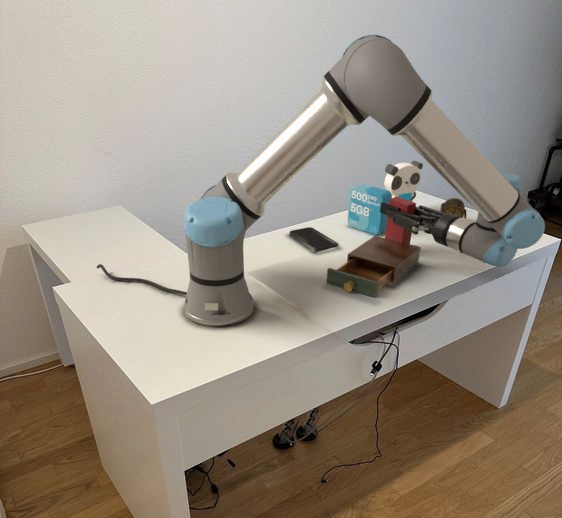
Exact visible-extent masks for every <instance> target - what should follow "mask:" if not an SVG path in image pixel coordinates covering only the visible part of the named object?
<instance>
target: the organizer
mask: <svg viewBox="0 0 562 518" xmlns="http://www.w3.org/2000/svg"><path fill="white" fill-rule="evenodd" d="M421 249H422V248H421V246H418V245H415V244H411V243H410V244H407V243H403V242H399V241H395V240H390V239H386V238H385V237H382V236H378V235H374V236H372V237H371V238H370V239H368V240H367V241H364V242H363V243H362V244H361V245H359V246H358V247H356V248H355V249H353V250H352V251H350V252H349V253H347V259H346V263H347V262H348V261H350V260H351V259H352V258H357V259H361V260H365V261H368V262H372V263H376V264H379V265H383V266H387V267H390V268H394V270H393V277H392V281H391V283H396V282H397V280H398V279H400V278H401V277H402V276H403V275H404V274H406V273H407V272H408V271H409V270H410V269H412V268H413V267H414V266H416V265H417V264H418V263H419V260H420V254H421Z"/></svg>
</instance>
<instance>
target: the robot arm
mask: <svg viewBox="0 0 562 518" xmlns="http://www.w3.org/2000/svg"><path fill="white" fill-rule="evenodd" d="M369 117H370V118H372V119H373V120H374V121H376V122H377V123H378V124H380V125H381V126H382V128H384V129H385V130H386V131H387V132H388V133H389V134H390V135H391V136H392V137H394V136H395V137H396V136H401V137H402V138H403V139H404V140H405V141H406V142H407V143H408V144H409V145H410V146H411V147H412V148H413V149H414V150H415V151H416V152H417V153H418V154H419V155H420V156H421V157H422V158H423V159H424V160H425V161H426V162H427V163H428V164H429V166H431V167H432V168H433V169H434V170H435V171H436V172H437V173H438V174H439V175H440V176H441V177H442V178H443V179H444V180H445V182H447V183H448V184H449V185H450V186H451V187H452V188H453V189H454V190H455V191H456V192H457V193H458V194H459V195H460V196H461V197H462V198H463V199H464V200H465V201H466V202H467V203H468V204H469V205H470V207H472V208H473V209H474V210H475V211H476V212H477V218H476V221H474V220H471V219H468V218H467V217H466V218H464V217H463V218H461V217H459V216H457V215H454V214H451V213H443V212H440V210H437V209H435V208H431V207H428V206H425V205H422V204H421V205H418V206H416V208H415V215H414V214H410V213H407V212H403V211H400V207H398V208H397V207H395V206H392V205H389V204H387V203H384V202H381V207H380V213H382V214H385V215H387V216H390V217H392V218H393V219H392V223H394V224H396V225H399V226H401V227H403V228H405V229H407V230H409V231H411V232H412V235H416V236H417V235H418V234H419V232H423V233H425V234H427V235H431V236H432V238H433V241H434V242H436V243H437V244H439V245H442V246H444V247H447V248H450V249H452V250H454V251H457V252H458V253H459V254H464V255H466V256H469V257H471V258H473V259H475V260H478V261H480V262H482V263H483V264H487V265H490V266H491V267H492V266H493V267H496V268H503V267H505V266H507V265H508V264H510V263H511V262H512V261H513V259H514V258H515V256H516V254H517V253H518V250H523V249H528V248H530V247H533V246H534V245H535V244H537V243H538V242H539V241H540V240H541V238H542V237H543V235H544V232H545V229H546V224H545V220H544V218H543V217H542V216H541V214H540V213H539V211H538V210H537V209H535V208H533V206H532V205H531V204H530V203H529V202H528V201H527V200H526V199H525V198H524V197H523V196H522V195H521V193H522V189H523V188H522V187H523V179H522V177H521V176H519V175H517V174H513V173H507V172H500V171H499V170H498V169H497V168H496V167H495V165H493V164H492V163H491V161H490V160H489V159H488V158H487V157H486V156H485V155H484V154H483V153H482V152H481V151H480V150H479V148H478V147H477V146H476V145H475V144H474V143H473V142H472V141H471V140H470V139H469V138H468V137H467V136H466V135H465V133H463V132H462V130H461V129H459V127H458V126H457V125H456V124H455V123H454V122H453V120H451V119H450V118H449V117H448V116H447V114H445V112H444V111H443V110H442V109H441V108H440V107H439V106H438V104H436V103H435V102H434V100H433V90H432V89H431V88H430V87H429V85H428V84H426V82H425V81H424V80H423V78H422V77H421V76H420V75H419V73H418V71H416V69H415V67H414V66H413V65H412V63H411V62H410V60H409V58H408V57H407V55H406V54H405V52H404V51H403V49H402V48H400V46H398V45H397V44H395V43H394V42H393V41H392V40H391V39H390V38H388V37H386V36H383V35H380V34H367V35H363V36H360V37H358V38H356V39H355V40H354V41H352V42H351V43H349V45H348V46H347V47H346V49H345V50H344V52H343V54H342V56H341V57H340V59H339V60H338V61H337V62H336V63H334V64H333V66H332V67H331V68H330V69H329V70H328V71H327V72H326V73H325V74H324V75H323V76H322V79H321V88H320V90H319V91H318V93H316V94H315V95H314V96H313V98H311V99H310V100H309V101H308V103H306V104H305V105H304V106H303V108H302V109H300V111H298V112H297V113H296V114H295V115H294V117H292V118H291V119H290V121H288V122H287V123H286V124H285V126H283V127H282V128H281V129H280V131H279V132H278V133H276V134H275V135H274V136H273V138H272V139H270V140H269V142H267V143H266V144H265V146H263V148H261V149H260V151H258V153H257V154H255V156H253V158H252V159H251V160H249V162H247V163H246V165H245V166H243V167H242V169H240V170H239V171H238V172H228V173H226V174H225V175H224V176H223V178H221V179H220V181H218V183H216V184H214V185H212V186H210V187H209V188H208V189H207V190H205V192H204V193H203V194H202V196H201V197H200V198H198V200H197V201H193V202H191V203H190V204H189V205H188V206H187V207H186V208H185V210H184V220H183V228H184V232H185V241H186V250H187V251H186V252H187V260H188V271H189V282H188V286H187V291H184V290H178V289H173V288H169V287H165V286H163V285H160V284H158V283H156V282H153V281H151V280H149V279H144V278H139V277H120V276H115V275H112V274H110V273H109V271H107V269H106V267H105V266H104V265H103V264H102V263H99V264H98V265H96V269H100V268H101V271H102V272H103V273H104V274H105V275H106V277H108V278H109V279H111V280H114V281H120V282H123V281H124V282H138V283H144V284H148V285H151V286H152V287H155V288H157V289H160V290H162V291H165V292H170V293H174V294H179V295H183V296H185V299H184V313H185V316H186V317H187V318H188V319H189V320H190V321H192V322H193V323H196V324H199V325H202V326H207V327H227V326H232V325H236V324H238V323H241V322H243V321H246V320H247V319H249V317H251V316H252V314H253V312H254V299H253V297H252V294H251V292H250V290H249V287H248V283H247V280H246V278H245V261H244V259H245V258H244V240H245V236H246V231H247V230H249V229H250V228H251V227H252V226H253V225H254V224H255V223H256V222H257V221H258V220H259V219H260V218H262V216H264V214H265V205H266V203H267V202H268V201H269V200H270V199H271V198H272V197H274V196H275V195H276V194H277V193H278V192H279V191H280V190H281V189H282V188H283V187H284V186H285V185H286V184H287V183H288V182H290V180H291V179H293V178H294V177H296V175H297V174H298V173H299V172H300V171H301V170H302V169H304V168H305V166H306V165H307V164H308V163H310V162H311V161H312V160H313V159H314V158H315V157H316V156H317V155H318V154H319V153H320V152H321V151H322V150H323V149H325V148H326V146H328V145H329V144H330V143H331V142H332V141H333V140H334V139H335V138H336V137H337V136H338V135H340V134H341V133H342V132H343V131H344V130H345V129H346V128H347V127H348V126H360V125H361V124H362V123H364V121H366V120H367V119H368V118H369Z"/></svg>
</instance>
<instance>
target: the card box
mask: <svg viewBox="0 0 562 518" xmlns="http://www.w3.org/2000/svg"><path fill="white" fill-rule="evenodd" d="M389 205H392V206H395V207H397V208H398V207H400V211H403V212H407V213H410V214H414V215H415V208H416V207H417V202H414V201H413V202H412V201H409V200H406V199H403V198H401V197H395V198H391V199H390V201H389ZM392 219H393V218H392V217H390V216H388V217H387V225H386V231H385V233H384V238H386V239H390V240H395V241H399V242H403V243H407V244H411V240H412V235H413V233H412V232H411V231H409V230H407V229H405V228H403V227H401V226H399V225H396V224H394V223H392Z"/></svg>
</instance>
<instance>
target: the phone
mask: <svg viewBox="0 0 562 518" xmlns="http://www.w3.org/2000/svg"><path fill="white" fill-rule="evenodd" d="M289 237H290V238H292V239H294V240H295V241H297V242H298V243H299V244H301V245H303V246H304V247H306V248H307V249H309V250H310V251H312V252H313V253H315V254H316V253H320V252H324V251H327V250H330V249H334V248H337V247H338V246H339V243H338V242H337V241H335V240H333V239H332V238H330V237H328V236H327V235H325V234H324V233H322V232H321V231H319V230H317V229H315V228H314V227H312V226H311V227H310V226H308V227H307V226H306V227H303V228H296V229H292V230H290V231H289Z"/></svg>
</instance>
